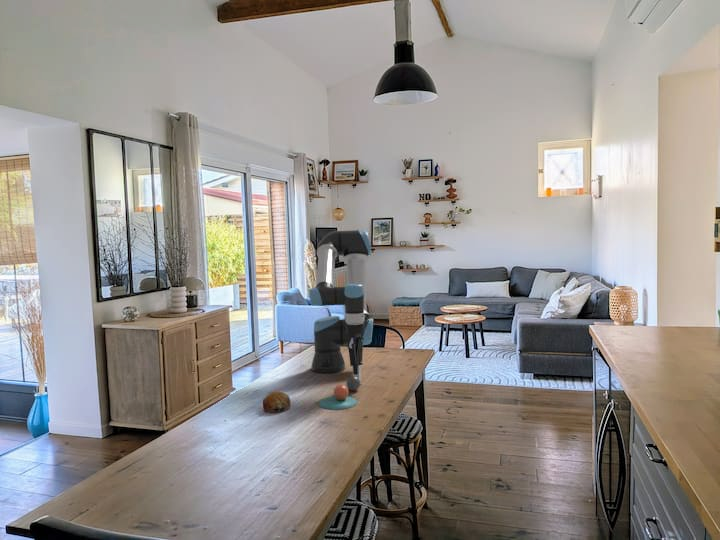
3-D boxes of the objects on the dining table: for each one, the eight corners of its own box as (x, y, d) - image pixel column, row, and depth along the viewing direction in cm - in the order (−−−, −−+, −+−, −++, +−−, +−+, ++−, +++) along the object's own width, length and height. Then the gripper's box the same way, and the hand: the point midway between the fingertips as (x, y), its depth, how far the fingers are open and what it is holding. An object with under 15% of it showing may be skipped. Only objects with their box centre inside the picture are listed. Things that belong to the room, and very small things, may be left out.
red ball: (334, 386, 199) (330, 399, 195) (337, 380, 195) (333, 393, 191) (347, 391, 199) (344, 404, 196) (351, 385, 195) (348, 398, 191)
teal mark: (310, 402, 193) (310, 402, 193) (341, 394, 202) (341, 393, 202) (333, 412, 182) (333, 411, 182) (365, 403, 191) (365, 402, 191)
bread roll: (292, 415, 191) (293, 393, 194) (286, 412, 182) (287, 388, 184) (265, 415, 192) (267, 393, 195) (257, 412, 183) (259, 388, 185)
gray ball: (345, 375, 208) (343, 389, 208) (349, 376, 203) (347, 390, 202) (358, 376, 210) (357, 390, 209) (362, 377, 205) (361, 391, 204)
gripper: (358, 326, 202) (360, 387, 204) (369, 320, 215) (370, 377, 216) (340, 325, 205) (342, 385, 207) (351, 319, 217) (353, 376, 219)
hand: (356, 381), depth 212 cm, fingers closed
